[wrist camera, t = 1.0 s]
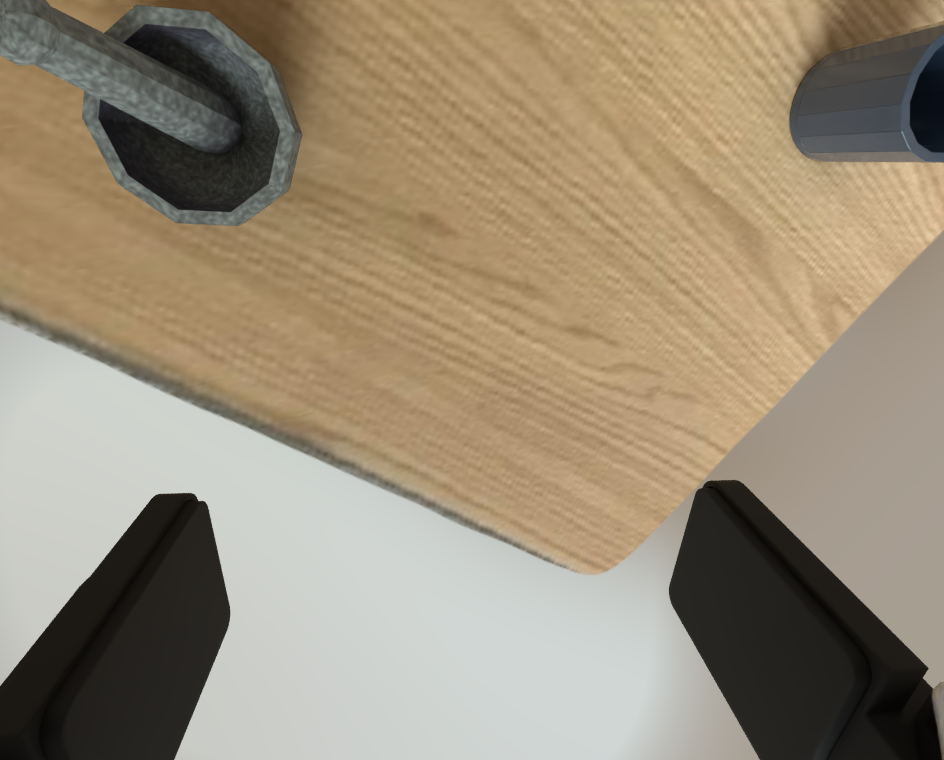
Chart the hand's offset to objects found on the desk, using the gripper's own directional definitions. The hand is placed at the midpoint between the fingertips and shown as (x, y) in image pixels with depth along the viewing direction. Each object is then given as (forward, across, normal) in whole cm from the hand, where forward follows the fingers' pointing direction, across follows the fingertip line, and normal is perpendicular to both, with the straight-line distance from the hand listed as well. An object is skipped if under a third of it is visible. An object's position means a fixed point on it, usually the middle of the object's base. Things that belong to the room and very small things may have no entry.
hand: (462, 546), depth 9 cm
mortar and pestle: (+28, +12, -8) cm, 32 cm away
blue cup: (+28, -27, -11) cm, 41 cm away
